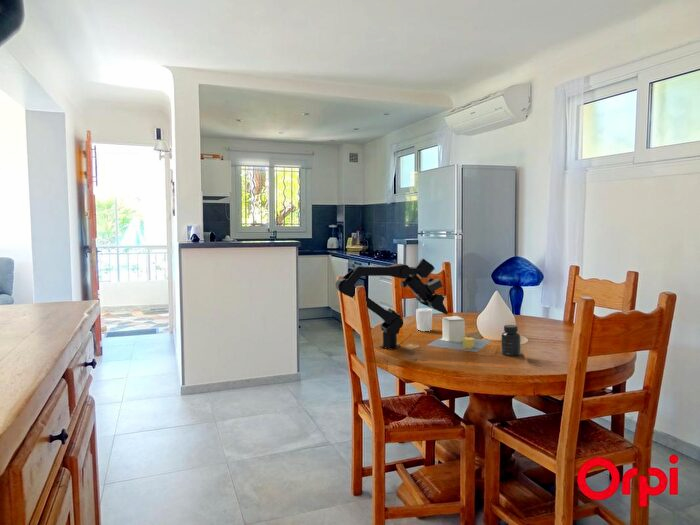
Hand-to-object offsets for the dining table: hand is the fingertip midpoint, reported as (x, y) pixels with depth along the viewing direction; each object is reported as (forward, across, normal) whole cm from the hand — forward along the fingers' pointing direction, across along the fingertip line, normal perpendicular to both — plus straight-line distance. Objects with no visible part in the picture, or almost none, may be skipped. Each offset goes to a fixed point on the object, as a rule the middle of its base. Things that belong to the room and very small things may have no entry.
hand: (442, 311), depth 204 cm
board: (+13, -7, +6) cm, 16 cm away
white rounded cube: (+12, 0, +5) cm, 13 cm away
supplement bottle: (+21, -28, -1) cm, 34 cm away
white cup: (+11, +25, +9) cm, 28 cm away
